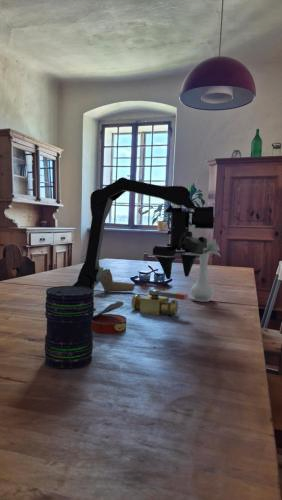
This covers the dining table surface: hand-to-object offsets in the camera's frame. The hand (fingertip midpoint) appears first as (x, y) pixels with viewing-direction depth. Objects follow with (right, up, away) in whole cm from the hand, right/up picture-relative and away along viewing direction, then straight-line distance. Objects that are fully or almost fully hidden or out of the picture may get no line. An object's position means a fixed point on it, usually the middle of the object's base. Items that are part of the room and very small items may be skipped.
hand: (177, 277), depth 107 cm
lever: (-3, -7, +5) cm, 9 cm away
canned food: (-21, -13, -13) cm, 28 cm away
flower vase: (+12, -12, +30) cm, 34 cm away
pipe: (-22, -10, +39) cm, 46 cm away
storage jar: (-27, -15, -36) cm, 47 cm away
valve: (-7, -12, +7) cm, 16 cm away
